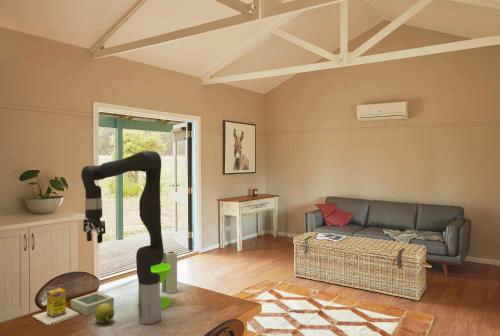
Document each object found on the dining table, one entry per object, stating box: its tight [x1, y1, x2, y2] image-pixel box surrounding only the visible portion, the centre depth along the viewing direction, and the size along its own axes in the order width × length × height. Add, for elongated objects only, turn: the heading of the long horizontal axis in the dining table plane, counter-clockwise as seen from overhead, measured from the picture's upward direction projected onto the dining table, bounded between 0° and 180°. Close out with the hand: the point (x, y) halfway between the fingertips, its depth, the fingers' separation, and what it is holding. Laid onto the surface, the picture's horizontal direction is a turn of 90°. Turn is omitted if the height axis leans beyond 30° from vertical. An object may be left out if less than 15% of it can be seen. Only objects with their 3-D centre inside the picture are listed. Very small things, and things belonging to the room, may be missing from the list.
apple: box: [94, 303, 115, 324], centre depth 165 cm, size 8×9×8 cm
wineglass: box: [137, 263, 172, 310], centre depth 186 cm, size 16×16×18 cm
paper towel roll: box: [161, 250, 178, 294], centre depth 203 cm, size 7×6×21 cm
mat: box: [32, 306, 80, 326], centre depth 171 cm, size 14×14×1 cm
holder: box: [70, 291, 115, 316], centre depth 182 cm, size 14×14×4 cm
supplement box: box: [46, 287, 67, 318], centre depth 171 cm, size 6×6×11 cm
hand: (94, 241), depth 178 cm, fingers open, 8 cm apart
